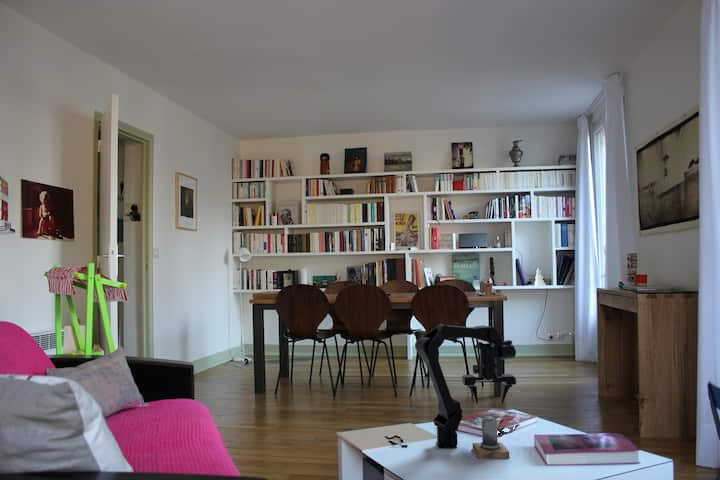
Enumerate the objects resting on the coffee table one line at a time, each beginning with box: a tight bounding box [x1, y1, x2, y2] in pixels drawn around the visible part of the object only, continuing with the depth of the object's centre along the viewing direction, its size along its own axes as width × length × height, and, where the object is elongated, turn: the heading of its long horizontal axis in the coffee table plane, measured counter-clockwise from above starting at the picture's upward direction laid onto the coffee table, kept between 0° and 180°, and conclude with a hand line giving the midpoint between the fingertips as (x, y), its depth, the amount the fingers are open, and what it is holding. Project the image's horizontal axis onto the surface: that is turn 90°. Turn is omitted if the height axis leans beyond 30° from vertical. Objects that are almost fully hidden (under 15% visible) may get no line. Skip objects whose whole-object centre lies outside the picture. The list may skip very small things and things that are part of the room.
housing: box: [480, 415, 500, 450], centre depth 187 cm, size 6×6×10 cm
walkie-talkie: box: [495, 417, 514, 437], centre depth 214 cm, size 9×4×20 cm
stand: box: [472, 441, 510, 460], centre depth 186 cm, size 10×10×2 cm
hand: (489, 403), depth 202 cm, fingers open, 9 cm apart
